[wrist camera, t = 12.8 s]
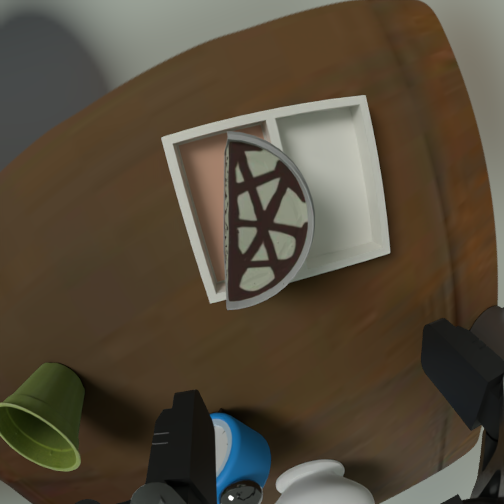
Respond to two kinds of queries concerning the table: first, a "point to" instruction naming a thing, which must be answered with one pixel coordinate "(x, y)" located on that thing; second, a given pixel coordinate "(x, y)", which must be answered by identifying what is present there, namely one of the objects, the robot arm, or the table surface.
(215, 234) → the tray
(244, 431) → the alarm clock
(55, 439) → the plant pot
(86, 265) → the table surface
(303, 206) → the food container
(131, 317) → the table surface
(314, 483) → the decorative vase
